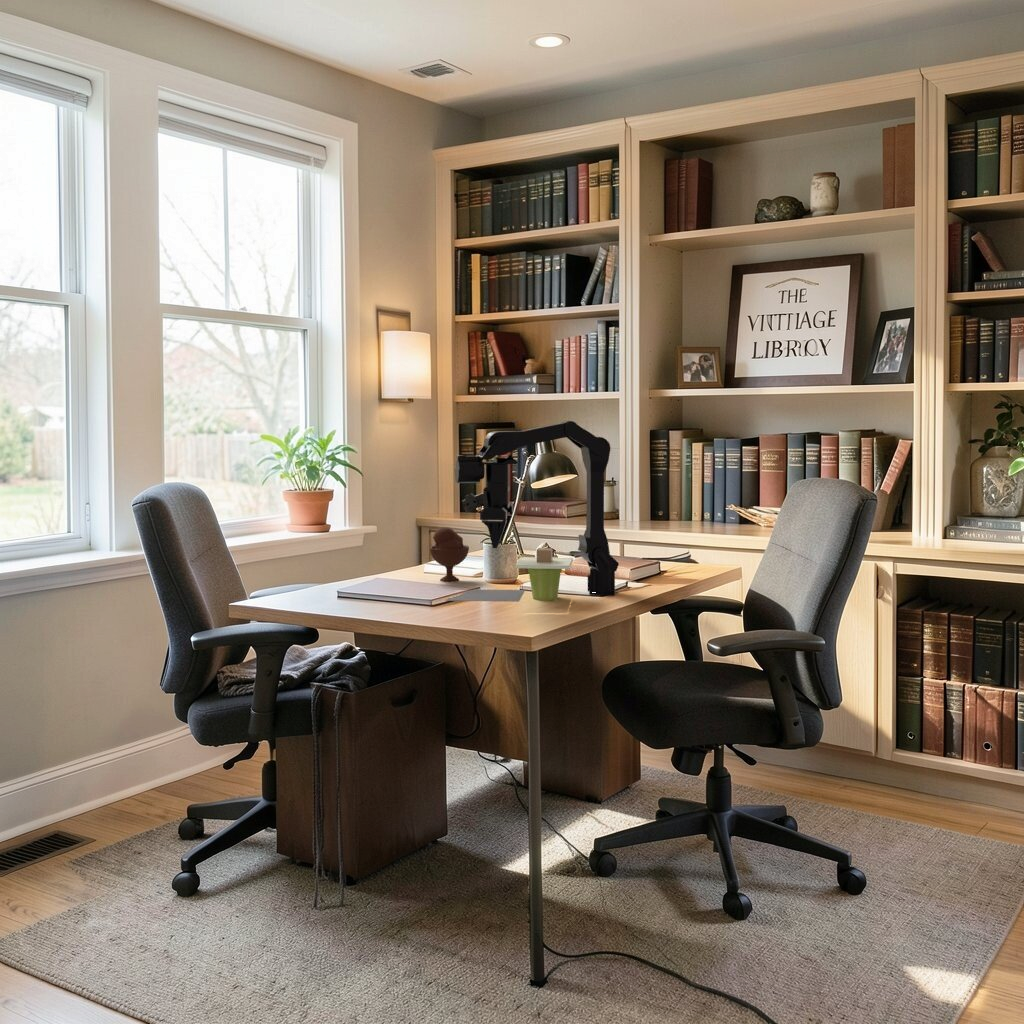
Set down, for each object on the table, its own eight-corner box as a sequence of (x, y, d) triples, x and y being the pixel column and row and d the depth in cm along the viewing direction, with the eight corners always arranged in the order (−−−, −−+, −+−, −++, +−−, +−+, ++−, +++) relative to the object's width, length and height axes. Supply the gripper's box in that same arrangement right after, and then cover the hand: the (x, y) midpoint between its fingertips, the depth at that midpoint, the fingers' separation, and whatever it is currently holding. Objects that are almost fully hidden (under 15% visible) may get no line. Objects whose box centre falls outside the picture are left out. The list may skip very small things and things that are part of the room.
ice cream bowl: (464, 585, 288) (464, 529, 286) (424, 584, 290) (423, 528, 288) (474, 578, 298) (473, 524, 297) (435, 577, 300) (434, 524, 299)
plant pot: (523, 602, 262) (523, 567, 261) (528, 595, 272) (528, 561, 271) (561, 603, 261) (561, 567, 260) (565, 596, 270) (565, 562, 269)
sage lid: (572, 561, 271) (572, 546, 271) (569, 568, 258) (569, 553, 258) (521, 560, 273) (521, 545, 272) (515, 568, 260) (515, 552, 259)
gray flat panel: (524, 591, 278) (524, 589, 278) (518, 602, 262) (518, 601, 262) (456, 590, 280) (455, 589, 280) (445, 601, 264) (445, 600, 264)
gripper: (470, 479, 275) (470, 540, 276) (459, 485, 256) (459, 550, 258) (513, 480, 273) (513, 541, 275) (505, 485, 255) (505, 550, 256)
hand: (497, 545), depth 266 cm, fingers open, 9 cm apart
